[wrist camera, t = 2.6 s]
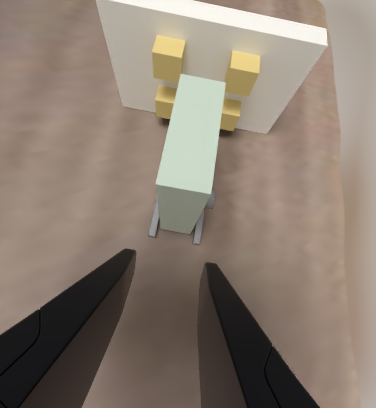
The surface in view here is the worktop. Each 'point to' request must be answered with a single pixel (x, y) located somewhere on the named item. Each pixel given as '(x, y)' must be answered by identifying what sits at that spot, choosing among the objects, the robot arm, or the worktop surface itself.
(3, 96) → the worktop surface
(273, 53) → the white l-shaped stand
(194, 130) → the door
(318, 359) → the worktop surface
